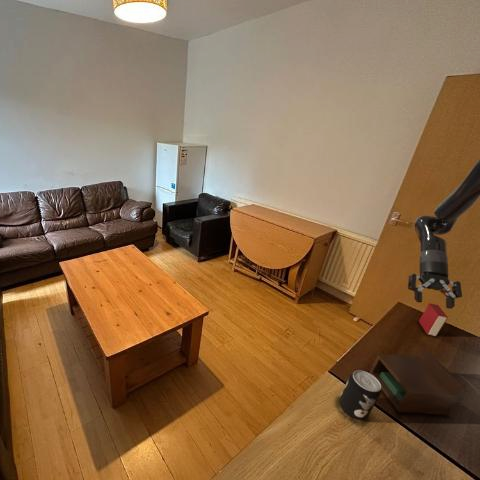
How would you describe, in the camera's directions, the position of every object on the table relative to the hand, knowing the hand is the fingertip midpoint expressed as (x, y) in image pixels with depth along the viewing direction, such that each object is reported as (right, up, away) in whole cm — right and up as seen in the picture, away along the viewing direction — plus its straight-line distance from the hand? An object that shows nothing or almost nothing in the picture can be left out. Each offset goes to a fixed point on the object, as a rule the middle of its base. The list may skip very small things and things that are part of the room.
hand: (434, 305), depth 94 cm
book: (-1, -9, +2) cm, 9 cm away
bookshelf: (-30, -20, -20) cm, 42 cm away
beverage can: (-49, -23, -24) cm, 59 cm away
